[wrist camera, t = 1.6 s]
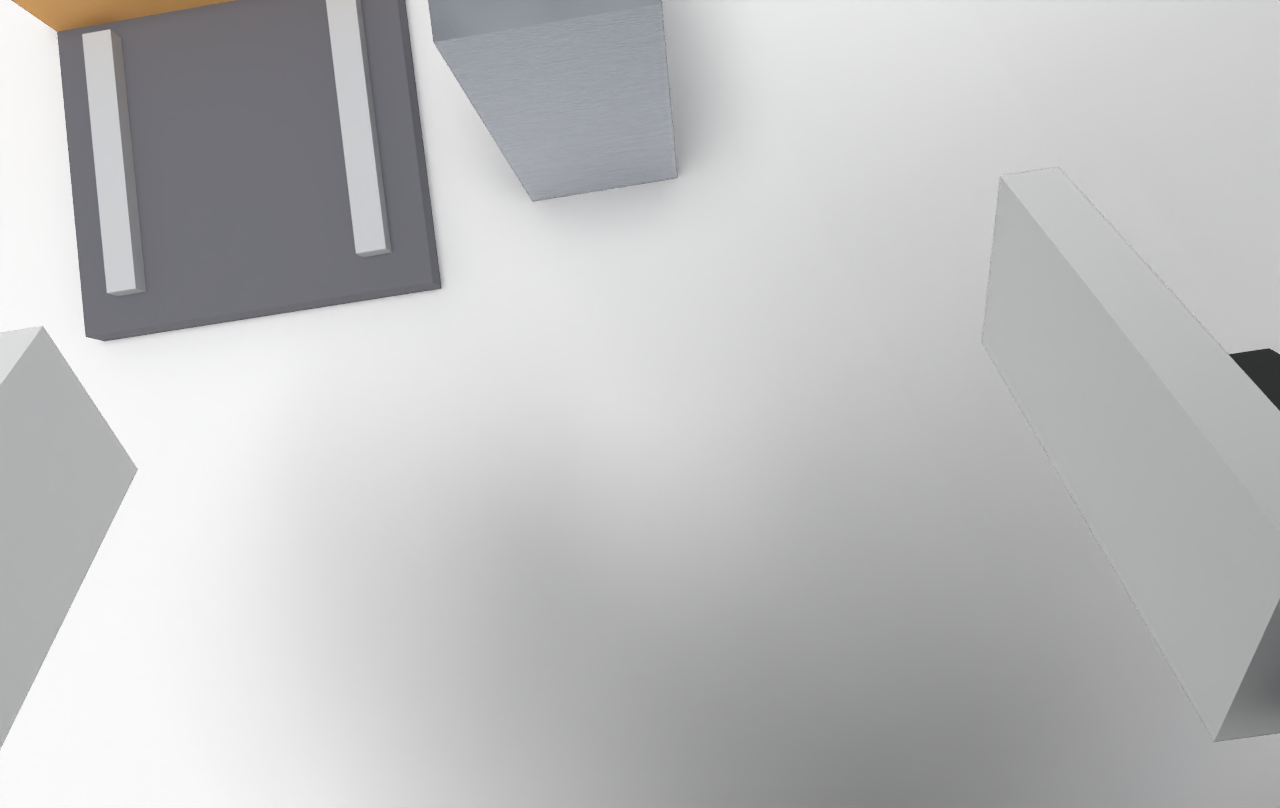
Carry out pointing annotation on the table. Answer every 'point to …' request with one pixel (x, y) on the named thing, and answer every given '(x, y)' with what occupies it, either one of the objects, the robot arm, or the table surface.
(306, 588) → the table surface
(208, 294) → the coupler dock
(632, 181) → the alu block
